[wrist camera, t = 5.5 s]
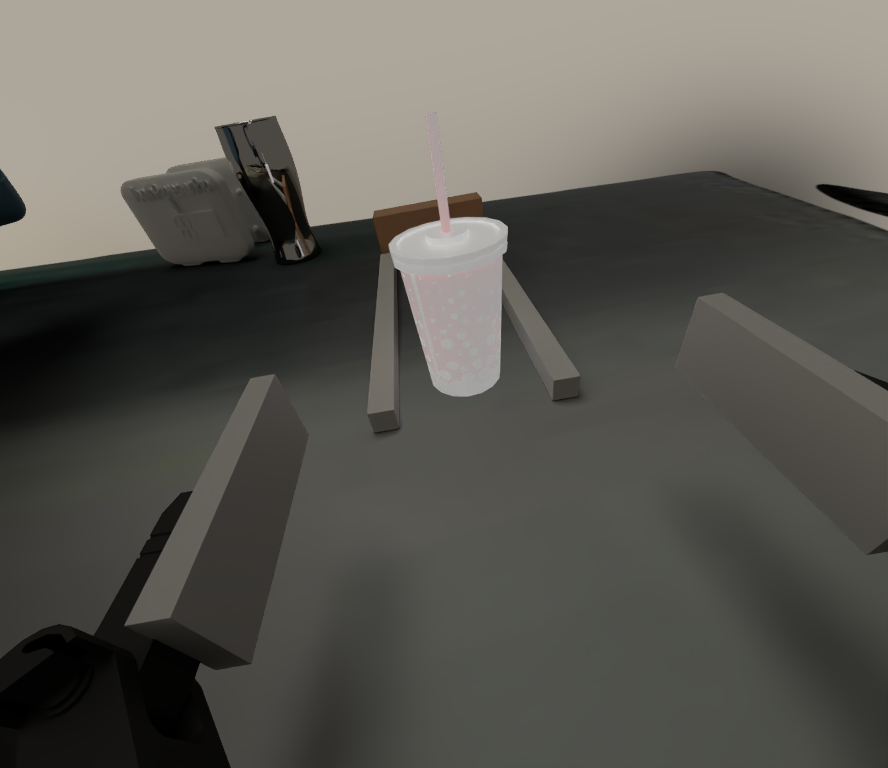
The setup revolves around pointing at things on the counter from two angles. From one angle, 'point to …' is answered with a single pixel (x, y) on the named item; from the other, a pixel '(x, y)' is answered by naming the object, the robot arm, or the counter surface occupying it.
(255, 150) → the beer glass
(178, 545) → the robot arm
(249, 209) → the cable organizer
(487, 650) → the counter surface
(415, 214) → the channel
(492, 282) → the beverage cup
